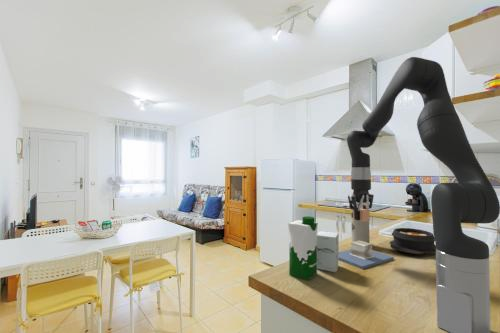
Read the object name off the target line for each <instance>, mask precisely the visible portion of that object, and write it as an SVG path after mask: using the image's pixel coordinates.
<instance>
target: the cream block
mask: <svg viewBox="0 0 500 333" xmlns="http://www.w3.org/2000/svg"><path fill="white" fill-rule="evenodd" d="M350 248H351V254H352V255H355V256H358V257H361V258H364V259H365V258H368V257H372V250H373V244H372V243H366V242H362V241H354V242H352V241H351V242H350Z"/></svg>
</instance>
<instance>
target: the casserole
mask: <svg viewBox="0 0 500 333" xmlns="http://www.w3.org/2000/svg"><path fill="white" fill-rule="evenodd" d="M391 235H392V238H393V239H392V240H391V241H389V244H390V248H391V249H393V250H394V251H395V250H396V251H398V252H402V253H407V254H414V255H422V254H424V255H425V254H426V255H427V254H433V253H436V242H435V237H434V233H433V232H430V231H427V230H425V229H424V230H423V229H418V228H417V229H416V228H408V227H402V228H401V227H399V228H394V229H393V231H392V233H391Z"/></svg>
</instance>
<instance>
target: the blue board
mask: <svg viewBox="0 0 500 333" xmlns="http://www.w3.org/2000/svg"><path fill="white" fill-rule="evenodd" d="M394 258H395V256H391V255H389V254H386V253H383V252H382V253H381V252H379V251H375V250H373V249H372V257H368V258H365V259H364V258H361V257H358V256H355V255H352V254H351V249H347V250H346V249H345V250H342V251H339V253H338V261H341V262H344V263H345V264H349V265H351V266H354V267H356V268H359V269H362V270H364V269H367V268H368V269H369V268H370V267H374V266H376V265H381V264H384V263H386V262H390V261H392V260H394Z"/></svg>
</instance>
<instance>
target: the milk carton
mask: <svg viewBox="0 0 500 333" xmlns="http://www.w3.org/2000/svg"><path fill="white" fill-rule="evenodd" d="M287 225H288V233H289V234H288V236H289V239H288V240H289V244H288V245H289V252H288V253H289V258H288V260H289V261H288V262H289V263H288V264H289V267H288V268H289V275H288V276H292V277H295V278H298V279H299V278H300V279H302V280H304V281H310V280H311V279H312V278H314V276H316V275H317V274H318V269H317V233H318V225H319V222H316V221H315V217H313V216H302V220H300V219H296V220H295V221H291V222H288V223H287Z"/></svg>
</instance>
